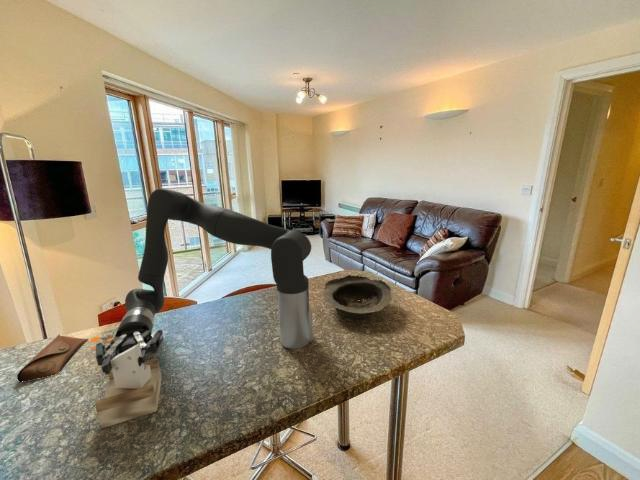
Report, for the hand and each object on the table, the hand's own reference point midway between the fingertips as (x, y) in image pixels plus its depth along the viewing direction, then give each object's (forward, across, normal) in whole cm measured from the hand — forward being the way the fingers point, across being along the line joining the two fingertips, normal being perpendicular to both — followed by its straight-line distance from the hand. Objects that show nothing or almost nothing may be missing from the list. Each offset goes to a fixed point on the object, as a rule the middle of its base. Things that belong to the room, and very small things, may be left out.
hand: (122, 366), depth 59 cm
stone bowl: (-16, +68, +11) cm, 71 cm away
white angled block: (-2, +1, +6) cm, 7 cm away
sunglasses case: (-30, -23, +12) cm, 40 cm away
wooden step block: (-2, 0, +11) cm, 11 cm away
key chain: (-34, -14, +12) cm, 39 cm away
